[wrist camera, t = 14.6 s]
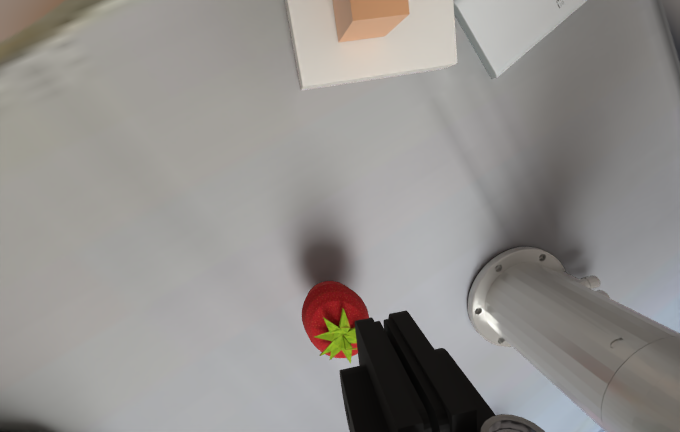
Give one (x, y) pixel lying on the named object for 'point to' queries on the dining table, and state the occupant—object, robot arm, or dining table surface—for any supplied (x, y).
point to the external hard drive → (509, 27)
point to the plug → (367, 17)
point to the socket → (370, 44)
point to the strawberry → (333, 318)
